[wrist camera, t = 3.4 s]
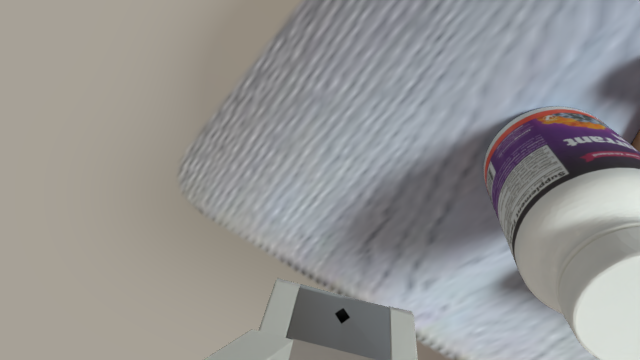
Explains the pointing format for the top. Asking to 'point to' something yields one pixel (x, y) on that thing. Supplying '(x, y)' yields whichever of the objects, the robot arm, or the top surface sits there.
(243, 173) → the top surface
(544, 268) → the pill bottle
